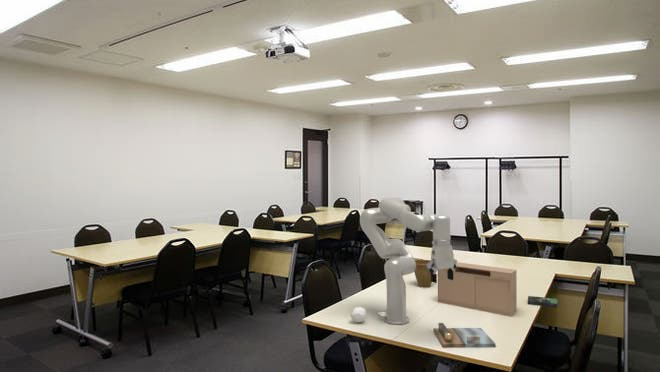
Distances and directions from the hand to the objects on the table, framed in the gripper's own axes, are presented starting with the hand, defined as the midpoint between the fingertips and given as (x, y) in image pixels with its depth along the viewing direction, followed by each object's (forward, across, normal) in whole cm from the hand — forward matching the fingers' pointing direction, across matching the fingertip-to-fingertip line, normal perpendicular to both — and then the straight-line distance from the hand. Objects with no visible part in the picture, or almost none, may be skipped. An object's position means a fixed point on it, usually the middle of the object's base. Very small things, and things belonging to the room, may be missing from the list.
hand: (442, 280), depth 187 cm
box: (+26, +44, +23) cm, 56 cm away
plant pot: (+25, +48, +70) cm, 88 cm away
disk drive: (+26, +81, +9) cm, 86 cm away
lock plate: (+25, +6, -6) cm, 27 cm away
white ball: (+25, -24, +34) cm, 49 cm away
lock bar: (+24, -1, -3) cm, 24 cm away
